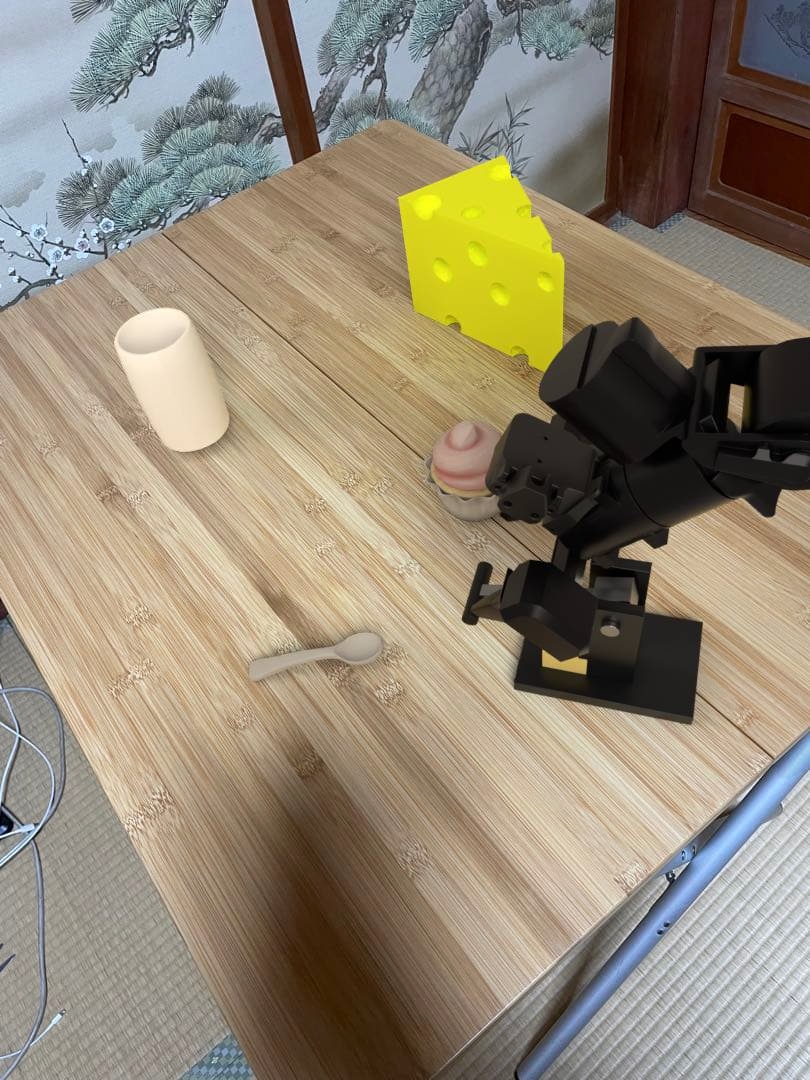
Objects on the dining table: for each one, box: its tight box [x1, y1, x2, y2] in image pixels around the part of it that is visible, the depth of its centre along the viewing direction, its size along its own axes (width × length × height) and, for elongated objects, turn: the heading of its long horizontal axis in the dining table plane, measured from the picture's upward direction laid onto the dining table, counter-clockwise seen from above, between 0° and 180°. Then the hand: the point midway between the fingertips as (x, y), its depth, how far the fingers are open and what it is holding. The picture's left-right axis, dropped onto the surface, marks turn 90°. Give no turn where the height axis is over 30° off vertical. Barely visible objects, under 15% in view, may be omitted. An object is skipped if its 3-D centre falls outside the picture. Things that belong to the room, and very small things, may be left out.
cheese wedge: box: [397, 154, 565, 373], centre depth 94 cm, size 19×20×15 cm
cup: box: [113, 307, 230, 453], centre depth 88 cm, size 8×8×14 cm
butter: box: [542, 650, 587, 674], centre depth 68 cm, size 5×4×2 cm
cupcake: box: [423, 419, 503, 522], centre depth 78 cm, size 9×9×10 cm
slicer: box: [513, 556, 704, 726], centre depth 65 cm, size 14×9×11 cm, turn 73°
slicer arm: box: [461, 560, 639, 626], centre depth 65 cm, size 13×6×2 cm, turn 73°
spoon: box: [248, 631, 385, 682], centre depth 72 cm, size 3×12×2 cm, turn 97°
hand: (490, 562), depth 63 cm, fingers open, 9 cm apart
